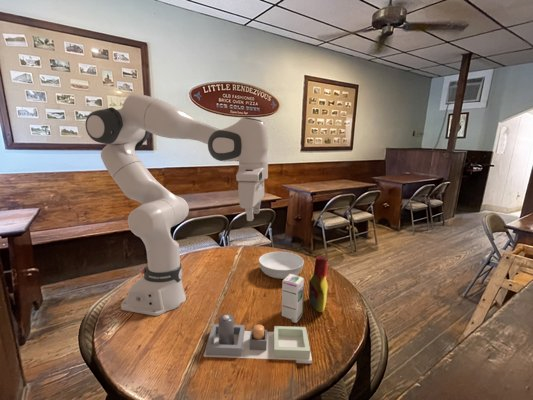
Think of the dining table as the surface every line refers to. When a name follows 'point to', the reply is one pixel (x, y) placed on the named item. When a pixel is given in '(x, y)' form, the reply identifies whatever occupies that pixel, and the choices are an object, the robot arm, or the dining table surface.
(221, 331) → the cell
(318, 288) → the bottle
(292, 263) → the serving bowl
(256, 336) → the brown egg
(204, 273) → the dining table surface
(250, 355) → the grey compartment tray
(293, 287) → the syrup box
